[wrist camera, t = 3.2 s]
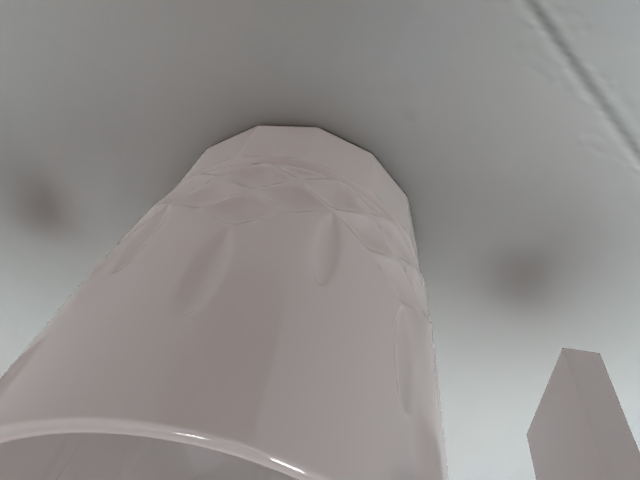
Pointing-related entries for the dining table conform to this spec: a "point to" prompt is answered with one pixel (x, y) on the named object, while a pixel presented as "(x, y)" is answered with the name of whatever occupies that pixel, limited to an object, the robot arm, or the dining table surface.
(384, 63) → the dining table surface
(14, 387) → the white cup
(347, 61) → the dining table surface
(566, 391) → the robot arm
